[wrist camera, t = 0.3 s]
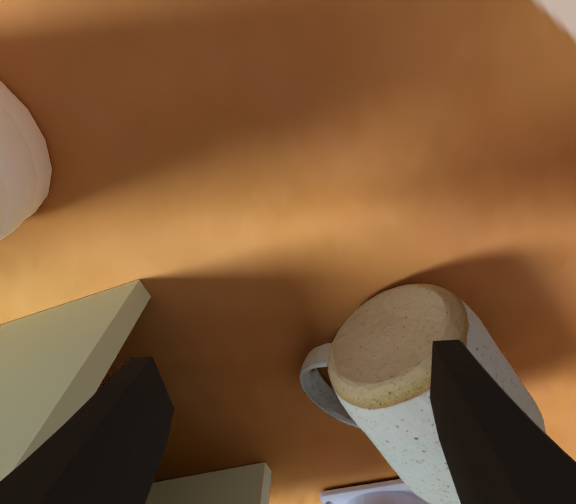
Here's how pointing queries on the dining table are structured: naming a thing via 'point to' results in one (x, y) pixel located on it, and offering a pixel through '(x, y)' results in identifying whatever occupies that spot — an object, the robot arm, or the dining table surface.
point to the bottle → (20, 163)
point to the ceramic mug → (404, 378)
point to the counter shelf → (90, 389)
